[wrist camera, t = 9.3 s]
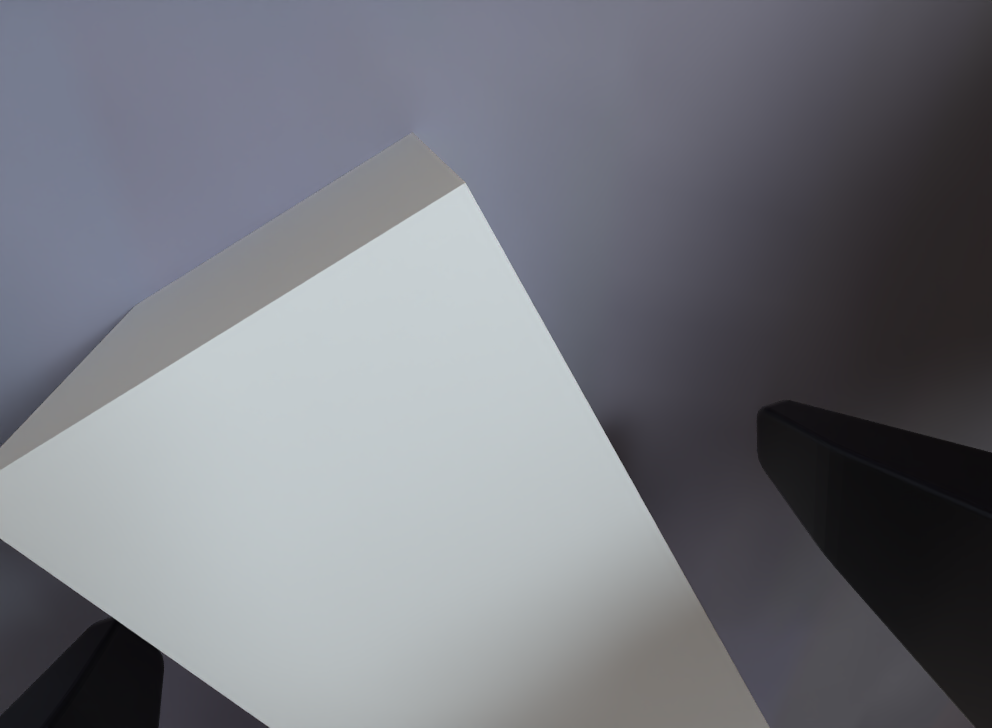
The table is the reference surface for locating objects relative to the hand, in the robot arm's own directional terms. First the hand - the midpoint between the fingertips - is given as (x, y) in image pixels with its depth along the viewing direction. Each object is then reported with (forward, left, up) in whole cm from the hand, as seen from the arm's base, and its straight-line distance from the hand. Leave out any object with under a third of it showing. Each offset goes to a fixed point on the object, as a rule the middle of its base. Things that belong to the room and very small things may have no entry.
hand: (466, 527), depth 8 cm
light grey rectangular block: (0, 0, -2) cm, 2 cm away
